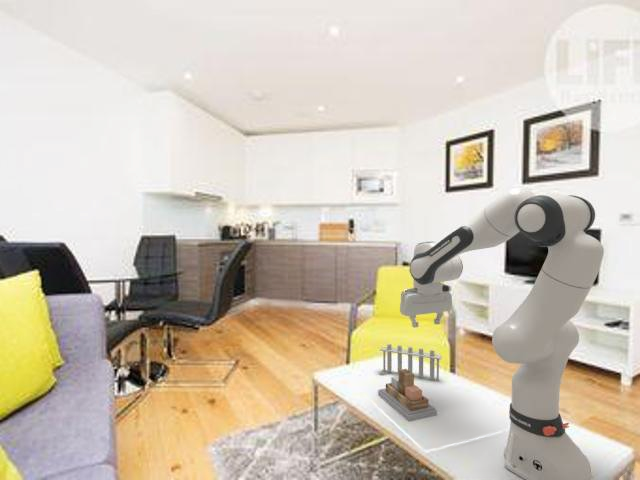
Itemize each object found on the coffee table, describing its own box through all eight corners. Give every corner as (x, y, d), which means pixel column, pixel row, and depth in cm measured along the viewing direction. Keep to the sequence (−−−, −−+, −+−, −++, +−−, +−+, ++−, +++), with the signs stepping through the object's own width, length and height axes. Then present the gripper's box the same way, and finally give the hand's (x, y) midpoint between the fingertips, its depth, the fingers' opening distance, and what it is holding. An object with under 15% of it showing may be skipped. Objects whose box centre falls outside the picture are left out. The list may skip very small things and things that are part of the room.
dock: (437, 417, 125) (437, 408, 125) (408, 424, 121) (408, 414, 121) (403, 392, 144) (403, 384, 143) (378, 397, 140) (378, 389, 140)
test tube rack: (442, 381, 153) (442, 349, 152) (440, 386, 149) (440, 353, 148) (382, 371, 164) (382, 341, 163) (379, 375, 160) (379, 344, 160)
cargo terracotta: (422, 401, 127) (422, 389, 126) (411, 403, 125) (411, 391, 125) (415, 396, 130) (415, 385, 130) (405, 398, 129) (405, 386, 129)
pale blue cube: (406, 390, 135) (406, 379, 135) (397, 392, 134) (397, 381, 134) (400, 385, 139) (400, 375, 139) (391, 387, 137) (391, 376, 137)
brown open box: (428, 407, 126) (428, 379, 125) (410, 410, 123) (410, 382, 123) (402, 387, 141) (402, 362, 140) (385, 390, 138) (385, 365, 138)
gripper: (406, 290, 128) (406, 331, 128) (454, 286, 135) (455, 324, 136) (396, 288, 133) (396, 326, 134) (443, 283, 141) (443, 320, 141)
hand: (426, 325), depth 135 cm, fingers open, 8 cm apart
